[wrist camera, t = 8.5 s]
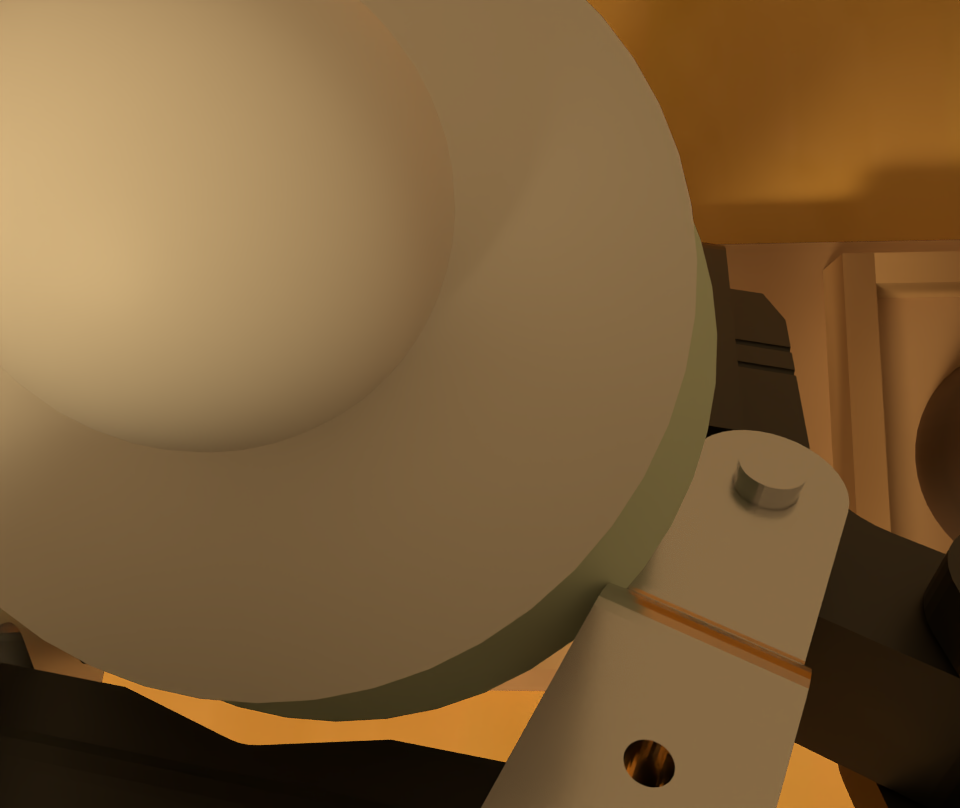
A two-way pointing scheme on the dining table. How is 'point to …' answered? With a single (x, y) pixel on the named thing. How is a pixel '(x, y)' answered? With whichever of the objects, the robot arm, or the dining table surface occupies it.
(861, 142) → the dining table surface
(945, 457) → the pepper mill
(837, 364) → the cruet stand
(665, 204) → the salt mill
